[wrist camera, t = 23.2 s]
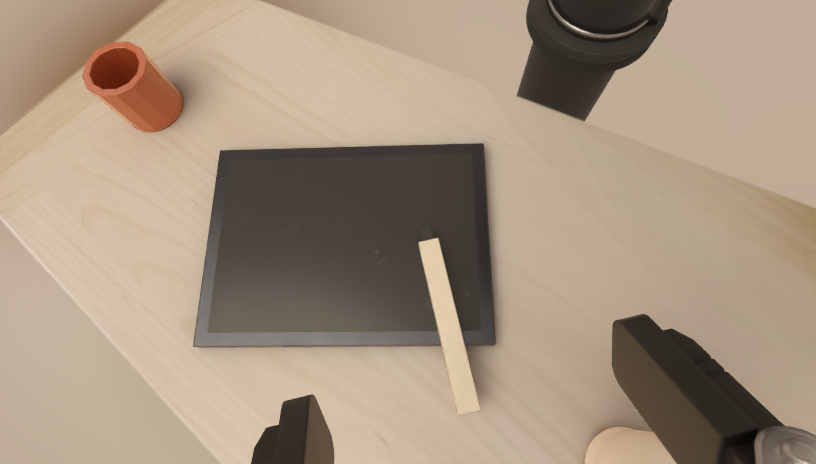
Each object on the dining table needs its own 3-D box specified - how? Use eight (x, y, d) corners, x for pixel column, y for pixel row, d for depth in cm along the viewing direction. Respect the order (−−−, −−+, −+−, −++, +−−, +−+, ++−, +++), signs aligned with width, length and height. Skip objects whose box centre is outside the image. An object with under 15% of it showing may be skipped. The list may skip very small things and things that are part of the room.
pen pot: (186, 83, 41) (150, 40, 36) (178, 131, 39) (139, 94, 34) (133, 84, 41) (90, 42, 36) (123, 133, 40) (76, 96, 34)
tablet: (482, 148, 37) (483, 142, 36) (493, 345, 33) (495, 345, 31) (224, 155, 38) (219, 149, 37) (199, 347, 34) (191, 346, 33)
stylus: (435, 224, 33) (480, 410, 29) (434, 230, 34) (478, 408, 30) (415, 229, 33) (458, 415, 29) (415, 234, 34) (457, 413, 30)
